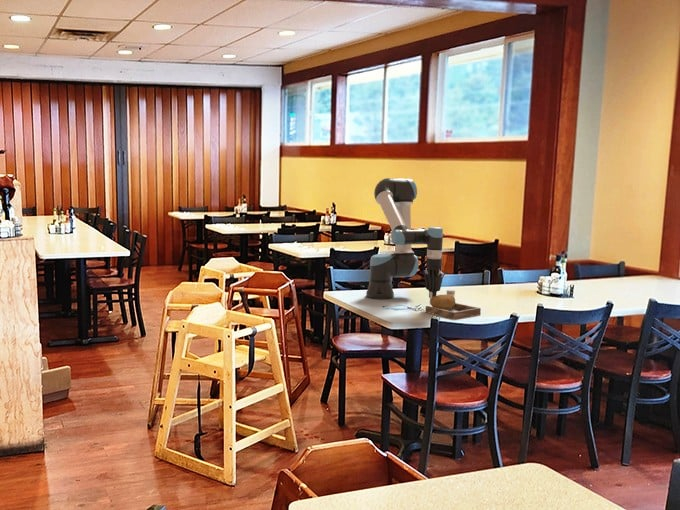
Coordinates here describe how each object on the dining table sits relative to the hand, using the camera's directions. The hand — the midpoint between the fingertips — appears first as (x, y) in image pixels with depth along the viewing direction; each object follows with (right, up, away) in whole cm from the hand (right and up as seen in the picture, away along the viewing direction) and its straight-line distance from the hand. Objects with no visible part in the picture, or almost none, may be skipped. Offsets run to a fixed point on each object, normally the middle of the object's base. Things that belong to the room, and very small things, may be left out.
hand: (432, 304), depth 356 cm
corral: (+9, -4, -10) cm, 13 cm away
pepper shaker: (+10, -2, +7) cm, 12 cm away
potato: (+4, -3, -4) cm, 7 cm away
